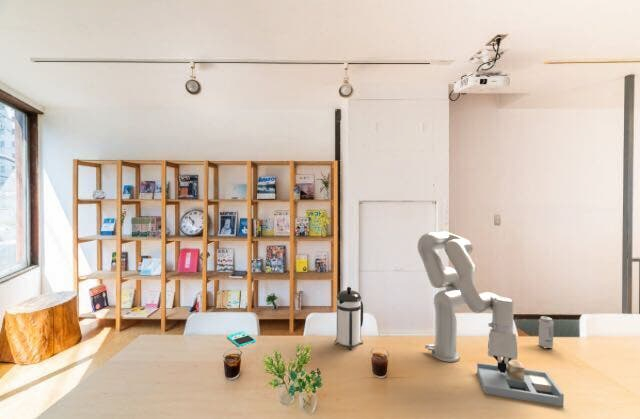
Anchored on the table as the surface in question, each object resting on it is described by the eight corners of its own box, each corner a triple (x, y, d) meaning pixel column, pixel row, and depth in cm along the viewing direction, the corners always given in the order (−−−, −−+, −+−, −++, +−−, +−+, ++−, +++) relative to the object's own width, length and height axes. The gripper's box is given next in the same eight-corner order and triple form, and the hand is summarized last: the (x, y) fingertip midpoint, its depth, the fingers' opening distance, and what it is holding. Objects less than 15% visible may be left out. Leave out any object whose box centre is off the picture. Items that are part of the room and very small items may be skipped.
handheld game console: (243, 332, 181) (243, 330, 181) (257, 342, 169) (257, 340, 169) (226, 337, 175) (226, 335, 175) (239, 348, 163) (239, 345, 163)
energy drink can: (548, 350, 160) (548, 320, 160) (535, 345, 166) (536, 316, 166) (555, 348, 163) (556, 319, 162) (543, 343, 168) (543, 315, 168)
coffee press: (366, 351, 159) (367, 291, 158) (334, 350, 159) (335, 290, 158) (362, 336, 176) (363, 282, 176) (333, 336, 176) (334, 282, 176)
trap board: (484, 393, 124) (484, 382, 124) (477, 372, 139) (477, 362, 139) (563, 406, 116) (563, 394, 116) (546, 382, 132) (546, 372, 132)
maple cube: (510, 378, 130) (510, 366, 129) (507, 372, 134) (507, 360, 134) (524, 380, 128) (524, 368, 128) (520, 374, 133) (521, 362, 133)
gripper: (484, 328, 131) (483, 373, 131) (526, 333, 126) (525, 379, 127) (480, 322, 138) (480, 364, 138) (520, 326, 133) (519, 369, 134)
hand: (501, 371), depth 133 cm, fingers closed
